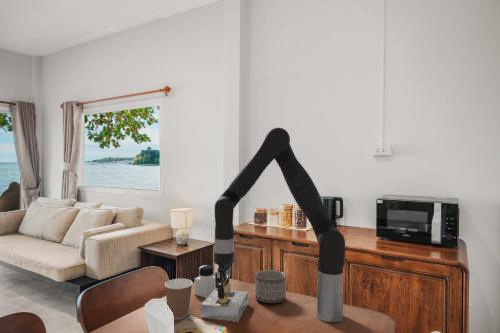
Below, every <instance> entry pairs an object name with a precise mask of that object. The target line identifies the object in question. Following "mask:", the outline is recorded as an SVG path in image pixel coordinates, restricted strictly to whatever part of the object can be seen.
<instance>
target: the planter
mask: <svg viewBox="0 0 500 333" xmlns="http://www.w3.org/2000/svg"><path fill="white" fill-rule="evenodd" d="M254 281H255V282H254V283H255V284H254V285H255V288H254V297H255V299H256V301H259V302H261V303H265V304H278V303H281V302H284V301H285V299H286V294H287V293H286V292H287V290H286V289H287V287H286V286H287V285H286V284H287V282H286V281H287V274H285V272H283V271H279V270H274V269H270V270H267V269H266V270H259V271H258V272H256V273H255V280H254Z"/></svg>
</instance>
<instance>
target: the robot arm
mask: <svg viewBox="0 0 500 333" xmlns="http://www.w3.org/2000/svg"><path fill="white" fill-rule="evenodd" d="M290 142H291V137H290V134H289V133H288V131H287V130H286V129H284V128H282V127H273V128H271V129H270V130H268V132H267V133H266V135H265V138H264V140H263V141H262V144H261V145H260V147H259V148H258V150H257V151H256V153H255V154H254V155H253V156H252V158H251V159H250V160H249V161H248V163H247V164H246V165H245V166H244V167H243V168H242V169H241V170H240V172H239V173H237V175H236V177H234V179H233V181H231V183H230V184H229V186H228V188H226V190H225V191H224V192H223V193H222V194H221V195H220V196H219V198H218V199H217V200H216V202H215V203H214V222H215V223H214V224H215V225H214V243H213V263H214V264H215V265H217V266H218V267H217V271H216V272H215V274H214V276H215V283H216V288H218V298H220V299H223V298H224V287H225V283H229V284H230V281H231V279H232V265H233V264H234V262H235V242H234V241H235V240H234V237H235V236H234V233H235V232H234V228H235V227H234V210H235V207H236V206H237V205H238V204H239V202H240V201H241V200H242V198H244V197H245V196H246V195H247V194H248V193H249V191H251V189H252V188H253V187H254V185H255V184H256V183H257V181H258V180H259V178H260V177H261V176H262V174H263V173H264V171H265V170H266V169H267V167H268V166H269V165H270V164H271V163H272V162H273V161H275V162H276V163H277V165H278V167H279V169H280V170H281V173H282V176H283V178H284V180H285V183H286V185H287V188H288V190H289V192H290V194H291V195H292V197H293V199H294V201H295V203H296V205H297V206H298V207H299V209H300V210H301V211H302V214H304V216H305V217H306V218H307V220H308V221H309V223H310V225H311V228H312V230H313V232H314V235H315V238H316V241H317V243H318V262H317V283H316V286H317V288H316V291H317V294H316V295H317V296H316V301H317V302H316V317H317V318H318V319H319V320H321V321H323V322H327V323H338V322H341V323H342V322H343V321H344V318H343V316H344V292H343V291H344V267H345V260H346V259H345V258H346V257H345V256H346V240H345V237H344V234H342V232H341V231H340V230H339V229H338V228H337V227H336V226H335V224H334V223H333V221H332V220H331V219H330V216H329V214H328V213H327V211H326V209H325V206H324V203H323V201H322V197H321V195H320V192H319V190H318V189H317V188H318V187H317V186H316V184H315V183H314V181H313V179H312V177H311V176H310V174H309V173H308V172H307V170H306V169H305V168H304V166H303V165H302V164H301V163H300V162H299V160H298V158H297V157H296V155H295V153H294V151H293V148H292V146H291V143H290ZM220 283H221V285H220Z"/></svg>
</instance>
